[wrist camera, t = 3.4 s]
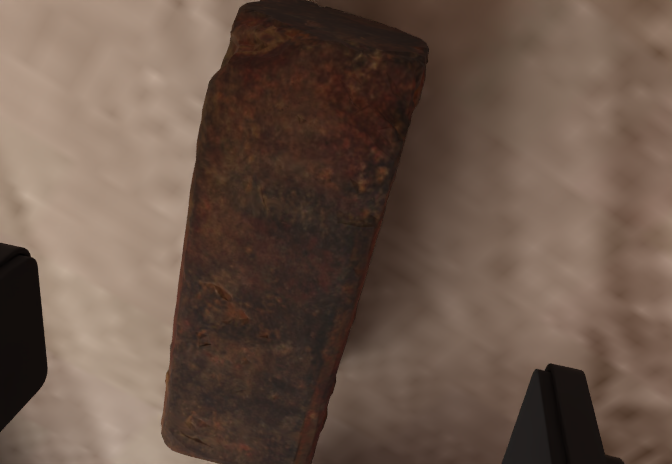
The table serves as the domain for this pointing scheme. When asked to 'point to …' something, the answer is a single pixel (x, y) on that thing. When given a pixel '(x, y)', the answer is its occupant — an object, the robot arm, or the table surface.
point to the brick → (283, 225)
